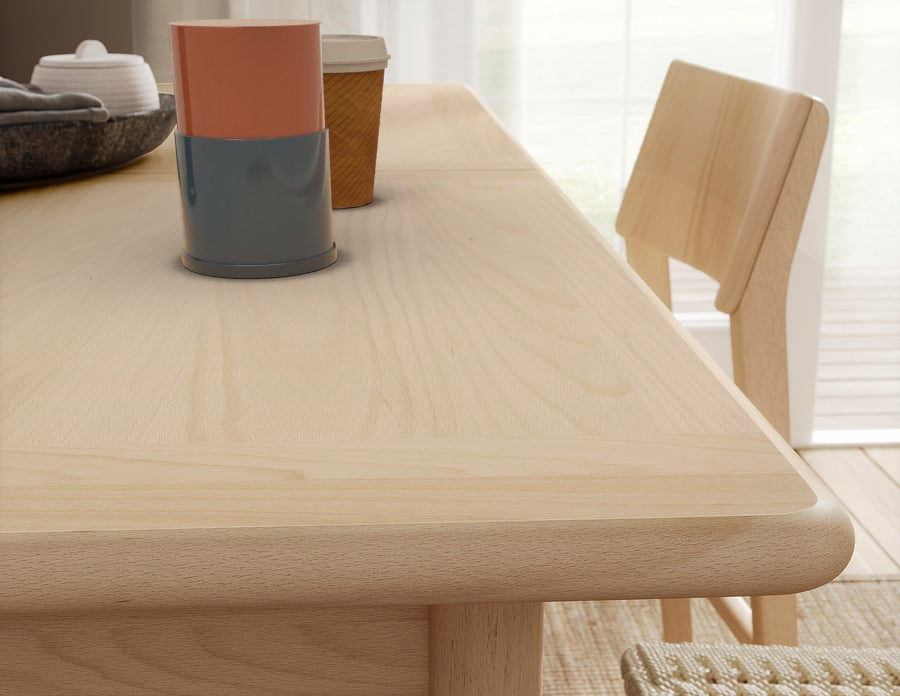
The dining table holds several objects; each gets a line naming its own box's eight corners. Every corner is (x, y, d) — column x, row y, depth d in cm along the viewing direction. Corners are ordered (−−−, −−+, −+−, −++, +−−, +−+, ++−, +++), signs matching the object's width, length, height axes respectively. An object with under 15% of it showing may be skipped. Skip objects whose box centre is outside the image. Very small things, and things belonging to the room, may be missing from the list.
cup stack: (153, 271, 71) (128, 25, 65) (226, 238, 79) (210, 17, 74) (299, 283, 68) (286, 28, 63) (359, 247, 76) (352, 19, 71)
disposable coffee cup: (354, 185, 97) (349, 32, 92) (416, 204, 90) (414, 38, 85) (249, 198, 92) (238, 36, 88) (306, 218, 85) (298, 44, 80)
